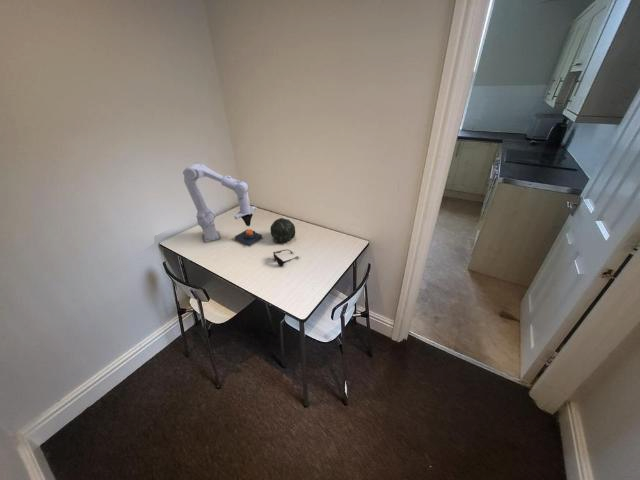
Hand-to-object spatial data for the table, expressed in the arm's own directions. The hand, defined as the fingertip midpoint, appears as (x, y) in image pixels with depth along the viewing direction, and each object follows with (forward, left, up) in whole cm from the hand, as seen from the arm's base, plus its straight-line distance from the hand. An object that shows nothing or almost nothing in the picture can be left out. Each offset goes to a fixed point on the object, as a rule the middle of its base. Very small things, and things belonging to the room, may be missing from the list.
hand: (248, 225), depth 147 cm
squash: (+8, +18, -10) cm, 22 cm away
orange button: (0, 0, -6) cm, 6 cm away
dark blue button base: (-1, -1, -10) cm, 10 cm away
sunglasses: (+28, +12, -10) cm, 32 cm away
